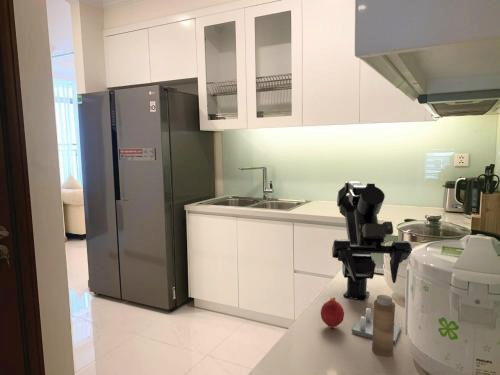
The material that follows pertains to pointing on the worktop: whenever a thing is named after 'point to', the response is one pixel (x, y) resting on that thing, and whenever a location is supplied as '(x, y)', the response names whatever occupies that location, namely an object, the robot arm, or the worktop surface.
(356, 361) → the worktop surface
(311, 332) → the worktop surface
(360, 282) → the robot arm
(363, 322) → the pin tray
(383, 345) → the pepper mill
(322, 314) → the pomegranate
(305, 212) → the worktop surface
